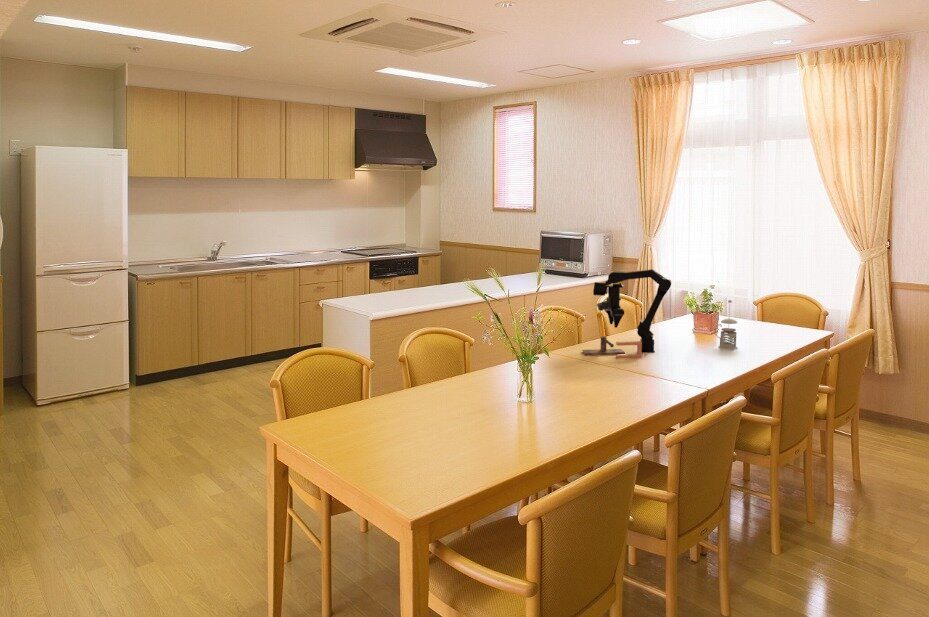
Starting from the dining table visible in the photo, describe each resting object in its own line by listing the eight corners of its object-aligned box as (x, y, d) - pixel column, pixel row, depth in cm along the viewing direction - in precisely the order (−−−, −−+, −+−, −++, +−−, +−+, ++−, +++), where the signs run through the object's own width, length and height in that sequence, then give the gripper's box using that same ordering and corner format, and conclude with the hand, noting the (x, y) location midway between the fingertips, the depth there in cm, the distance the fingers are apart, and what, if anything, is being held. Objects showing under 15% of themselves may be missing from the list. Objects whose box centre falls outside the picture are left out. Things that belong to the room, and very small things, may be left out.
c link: (639, 357, 348) (640, 341, 346) (641, 358, 345) (641, 342, 344) (615, 357, 347) (616, 341, 346) (617, 358, 345) (617, 342, 343)
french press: (739, 350, 360) (742, 301, 356) (716, 349, 362) (718, 301, 358) (735, 345, 369) (738, 298, 365) (712, 345, 371) (714, 298, 367)
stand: (620, 351, 361) (621, 335, 360) (632, 360, 340) (632, 343, 339) (582, 352, 360) (582, 335, 359) (591, 361, 339) (591, 344, 338)
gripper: (594, 293, 369) (593, 323, 371) (602, 298, 351) (602, 329, 353) (615, 293, 370) (614, 322, 372) (624, 298, 351) (624, 329, 354)
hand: (613, 325), depth 363 cm, fingers open, 9 cm apart
